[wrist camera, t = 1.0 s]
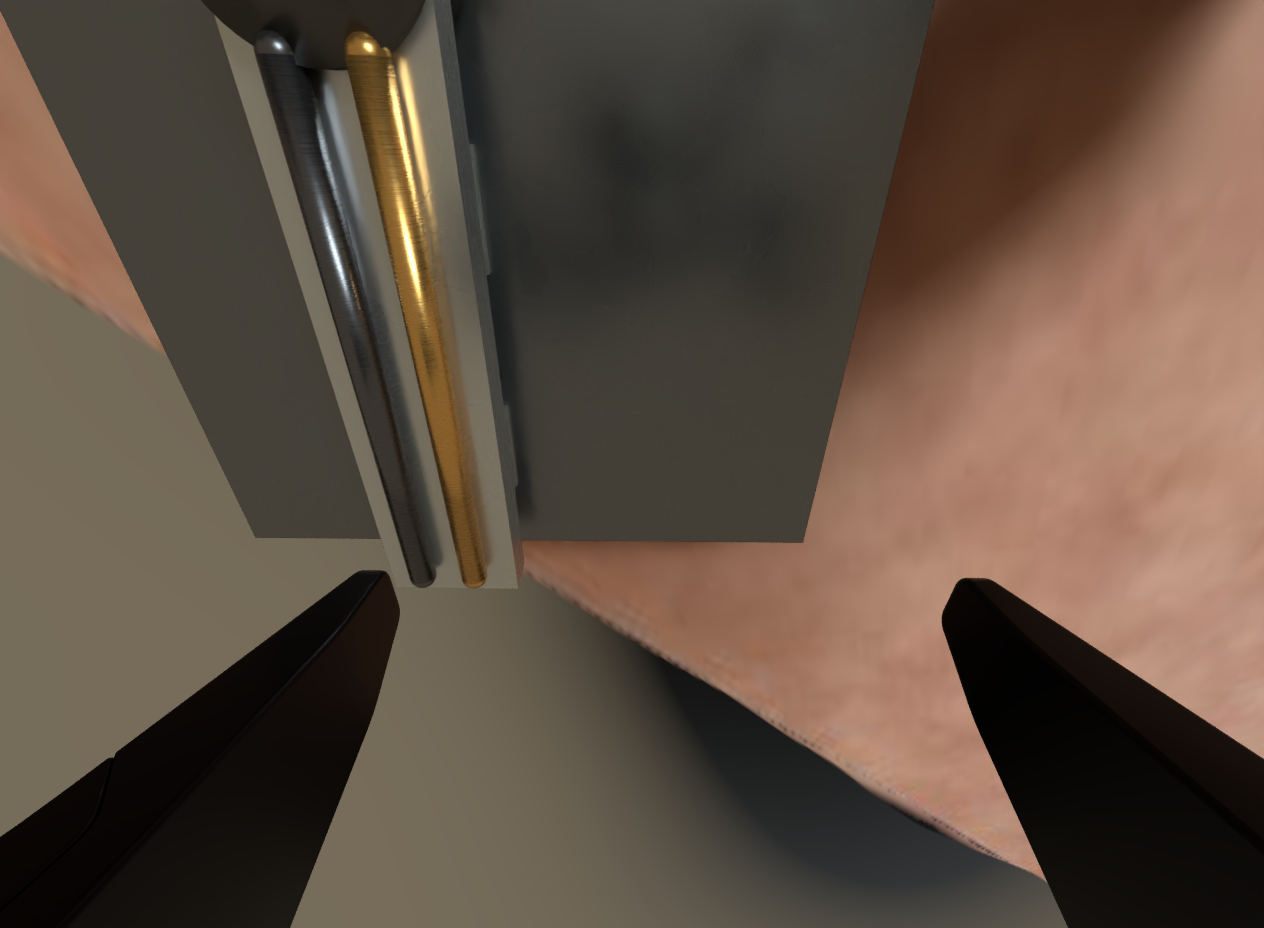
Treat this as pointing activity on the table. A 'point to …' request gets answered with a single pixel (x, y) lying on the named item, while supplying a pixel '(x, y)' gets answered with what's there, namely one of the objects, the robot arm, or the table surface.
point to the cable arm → (389, 264)
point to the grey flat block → (532, 246)
